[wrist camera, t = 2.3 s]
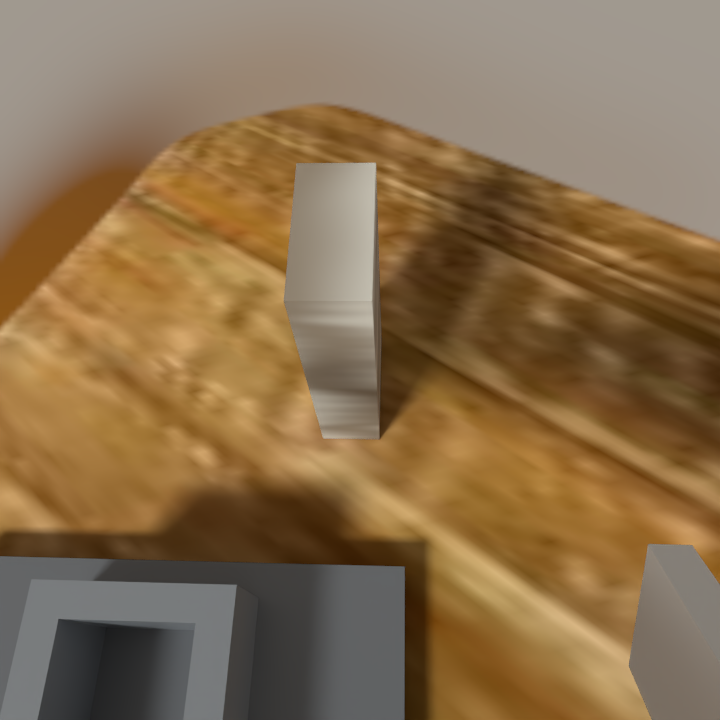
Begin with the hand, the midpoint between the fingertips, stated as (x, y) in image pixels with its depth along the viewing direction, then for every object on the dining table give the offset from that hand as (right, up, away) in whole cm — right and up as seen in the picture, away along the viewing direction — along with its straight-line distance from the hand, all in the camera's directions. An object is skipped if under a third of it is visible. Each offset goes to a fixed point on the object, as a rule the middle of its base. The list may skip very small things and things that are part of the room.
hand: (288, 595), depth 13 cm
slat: (+1, +3, +18) cm, 18 cm away
